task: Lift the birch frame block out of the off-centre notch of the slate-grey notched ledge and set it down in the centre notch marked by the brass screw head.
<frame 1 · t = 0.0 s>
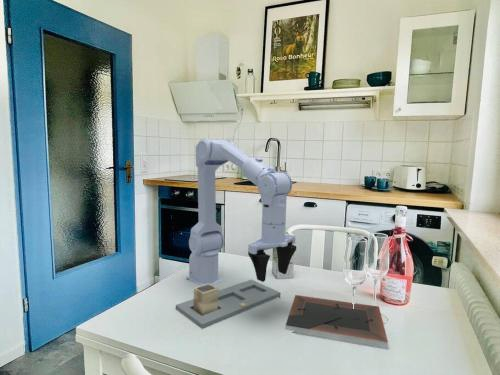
hand: (271, 276, 80), 10 cm above the table, tool pointing down, fingers open, 7 cm apart
picture frame: (334, 324, 79), on the table
notched ledge: (230, 304, 86), on the table
syrup box: (282, 275, 107), on the table
frame block: (205, 311, 81), point 1 cm above the table, touching notched ledge
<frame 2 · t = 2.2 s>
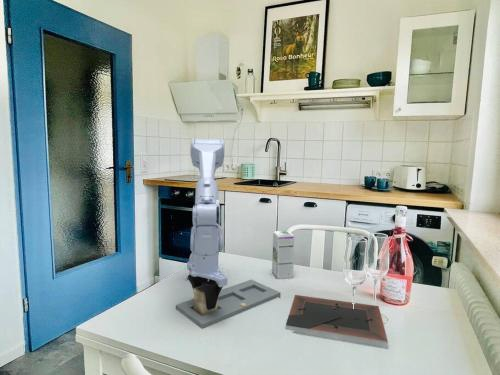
hand: (205, 305, 80), 2 cm above the table, tool pointing down, fingers closed on frame block, 4 cm apart
frame block: (205, 311, 81), point 1 cm above the table, touching gripper, notched ledge
everything else where it was.
when the fingers open (4 cm above the table, at t = 5.6 s): frame block stays where it is, resting on notched ledge.
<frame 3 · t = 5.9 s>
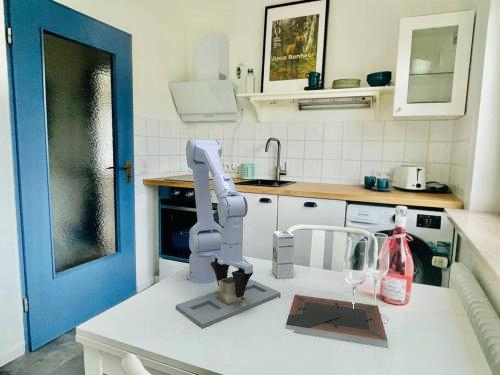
hand: (230, 291, 86), 4 cm above the table, tool pointing down, fingers open, 7 cm apart
frame block: (229, 302, 86), point 1 cm above the table, touching notched ledge
everything else where it was.
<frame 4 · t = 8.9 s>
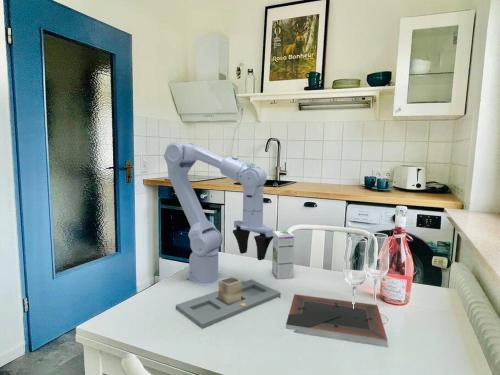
hand: (252, 256, 94), 10 cm above the table, tool pointing down, fingers open, 7 cm apart
nothing on the table moved.
at the end: frame block 0.3 cm off-centre on the notched ledge, point 0.6 cm above the notched ledge's base; frame block tilted 0°; the gripper is holding nothing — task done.
